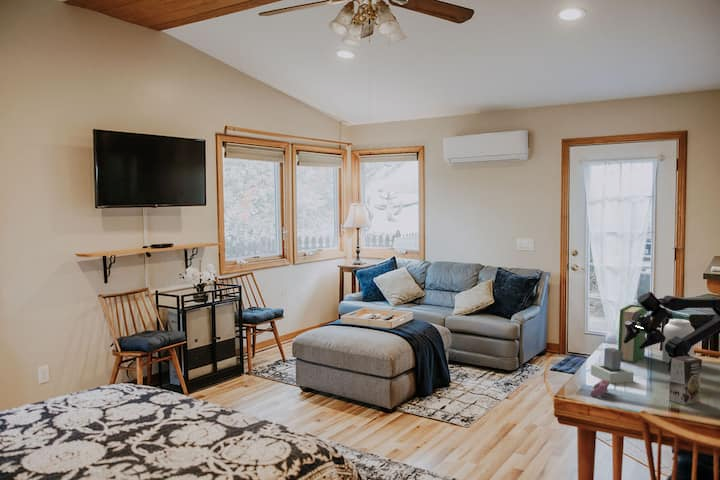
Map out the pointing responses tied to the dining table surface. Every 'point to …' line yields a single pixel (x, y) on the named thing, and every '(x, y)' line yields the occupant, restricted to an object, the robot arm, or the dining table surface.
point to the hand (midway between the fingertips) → (631, 345)
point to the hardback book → (632, 347)
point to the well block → (612, 374)
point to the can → (676, 334)
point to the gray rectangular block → (612, 359)
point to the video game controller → (600, 388)
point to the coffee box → (685, 380)
